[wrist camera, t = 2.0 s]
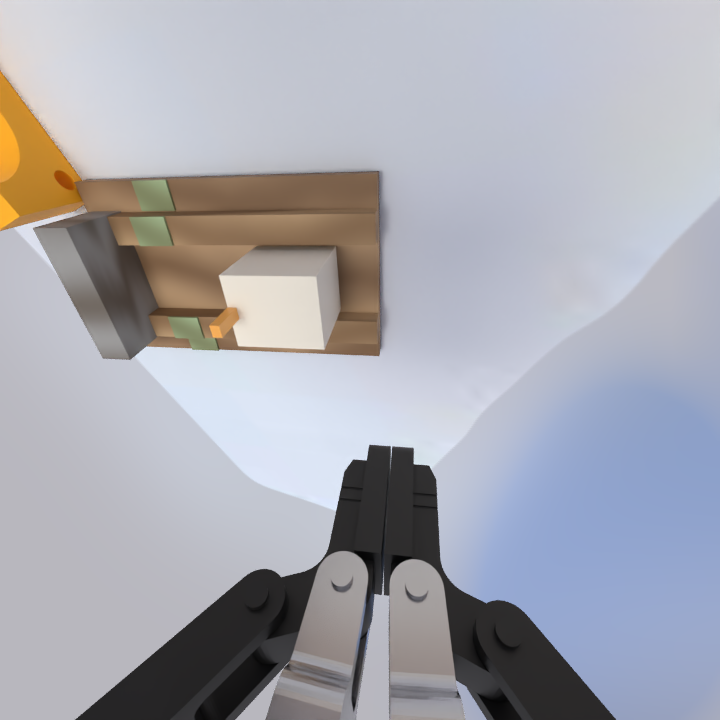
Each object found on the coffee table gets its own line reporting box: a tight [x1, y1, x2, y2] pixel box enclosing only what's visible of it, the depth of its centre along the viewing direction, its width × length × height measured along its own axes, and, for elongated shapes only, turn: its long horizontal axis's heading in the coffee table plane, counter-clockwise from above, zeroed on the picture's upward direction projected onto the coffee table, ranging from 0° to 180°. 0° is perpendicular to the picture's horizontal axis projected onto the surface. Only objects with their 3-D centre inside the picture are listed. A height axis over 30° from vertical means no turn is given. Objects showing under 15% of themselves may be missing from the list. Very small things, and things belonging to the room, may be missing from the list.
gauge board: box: [33, 171, 380, 360], centre depth 26 cm, size 14×22×6 cm, turn 92°
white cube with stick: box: [209, 246, 341, 350], centre depth 24 cm, size 5×6×8 cm
